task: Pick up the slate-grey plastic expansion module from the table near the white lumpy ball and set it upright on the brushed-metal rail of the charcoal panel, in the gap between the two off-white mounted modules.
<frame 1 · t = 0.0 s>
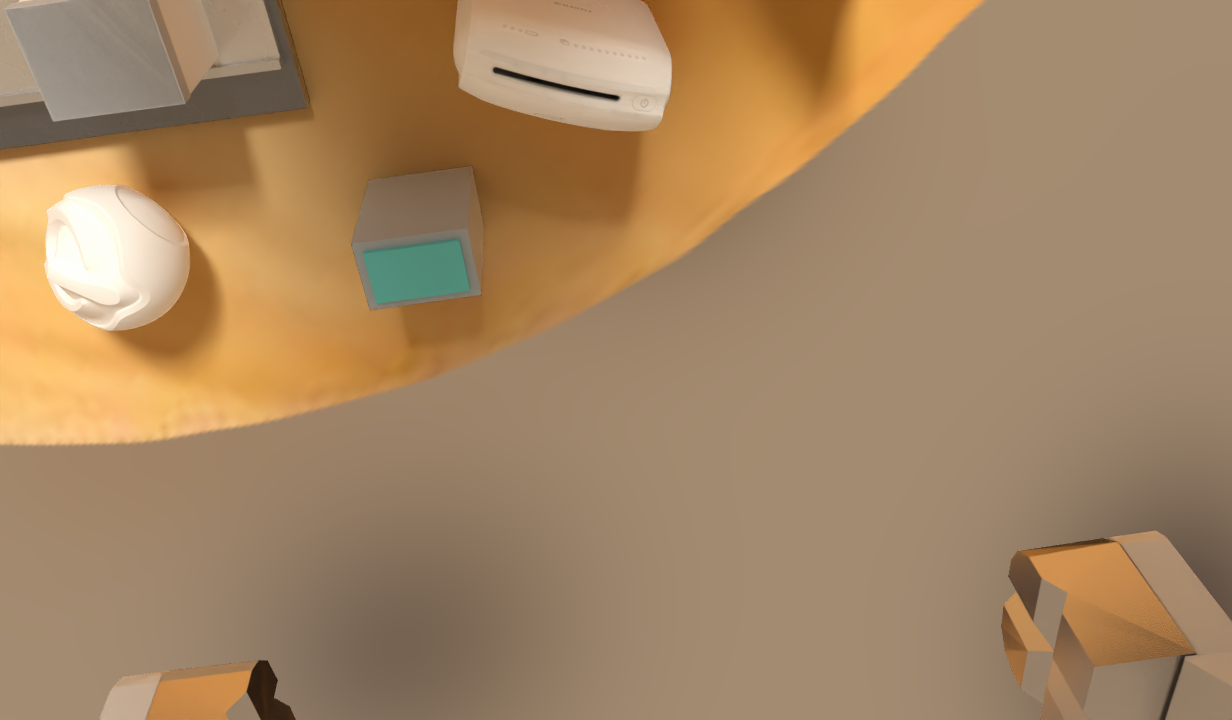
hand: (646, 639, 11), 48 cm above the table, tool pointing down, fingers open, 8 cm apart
white lumpy ball: (137, 224, 59), on the table
expansion module: (427, 204, 60), on the table
mounted modules: (6, 25, 52), resting on rail panel
rail panel: (6, 25, 52), on the table
photo printer: (555, 10, 55), on the table
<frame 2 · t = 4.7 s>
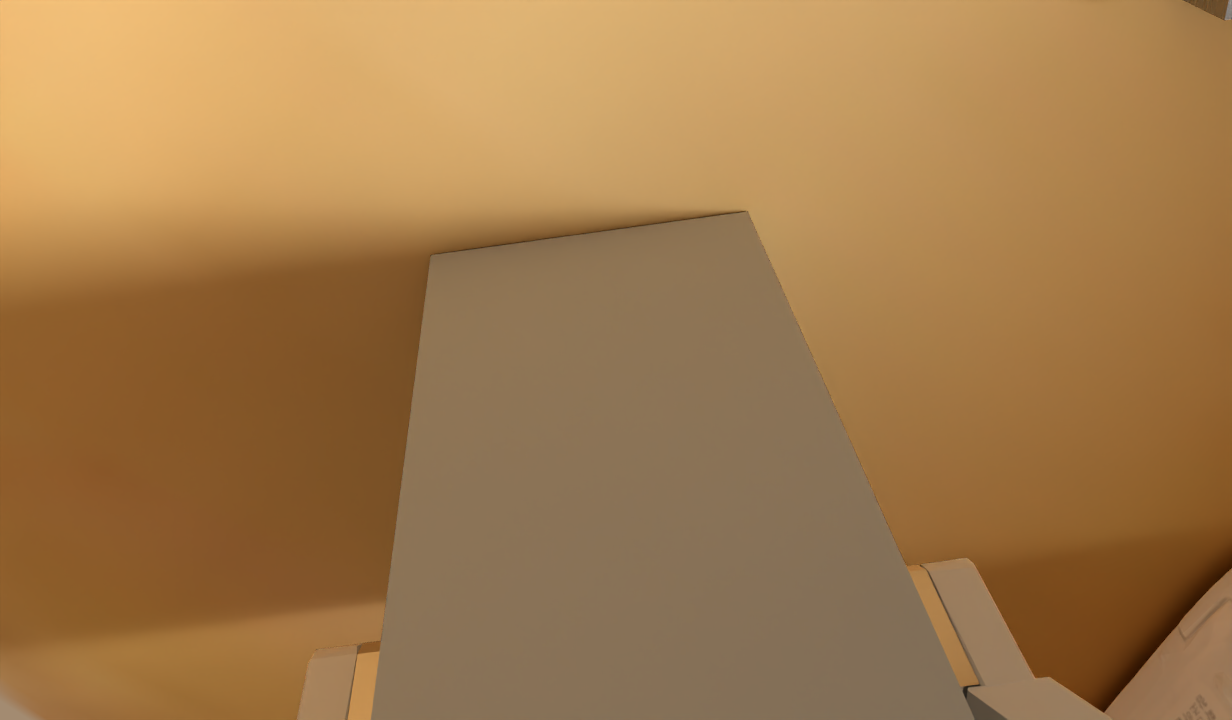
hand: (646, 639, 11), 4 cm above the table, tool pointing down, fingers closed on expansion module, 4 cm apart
expansion module: (615, 421, 14), on the table, touching gripper
photo printer: (1172, 705, 20), on the table
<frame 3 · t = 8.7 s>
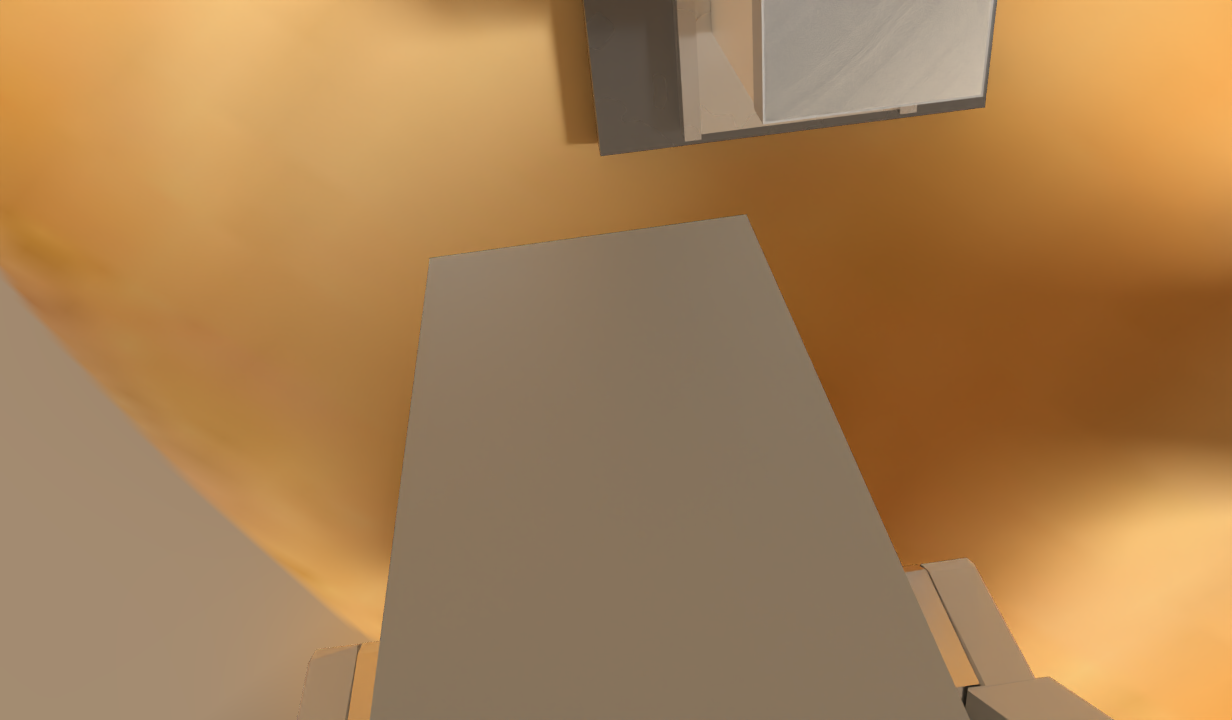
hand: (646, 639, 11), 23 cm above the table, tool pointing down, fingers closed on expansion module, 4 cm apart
expansion module: (614, 423, 14), point 19 cm above the table, touching gripper
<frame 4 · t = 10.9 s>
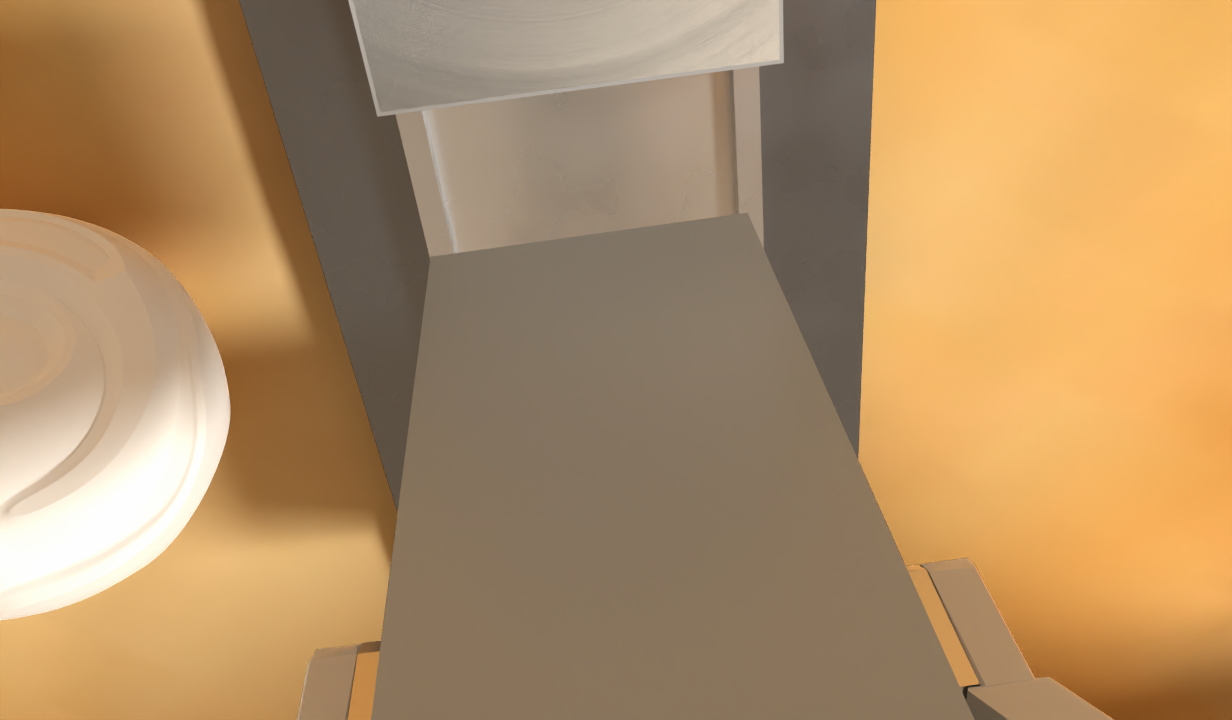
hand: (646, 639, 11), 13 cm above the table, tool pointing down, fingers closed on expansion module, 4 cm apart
white lumpy ball: (86, 307, 24), on the table
expansion module: (615, 422, 14), point 9 cm above the table, touching gripper
mounted modules: (585, 153, 22), resting on rail panel
rail panel: (585, 153, 22), on the table
when the fingers open (6 cm above the table, at t = 12.9 s): expansion module stays where it is, resting on rail panel.
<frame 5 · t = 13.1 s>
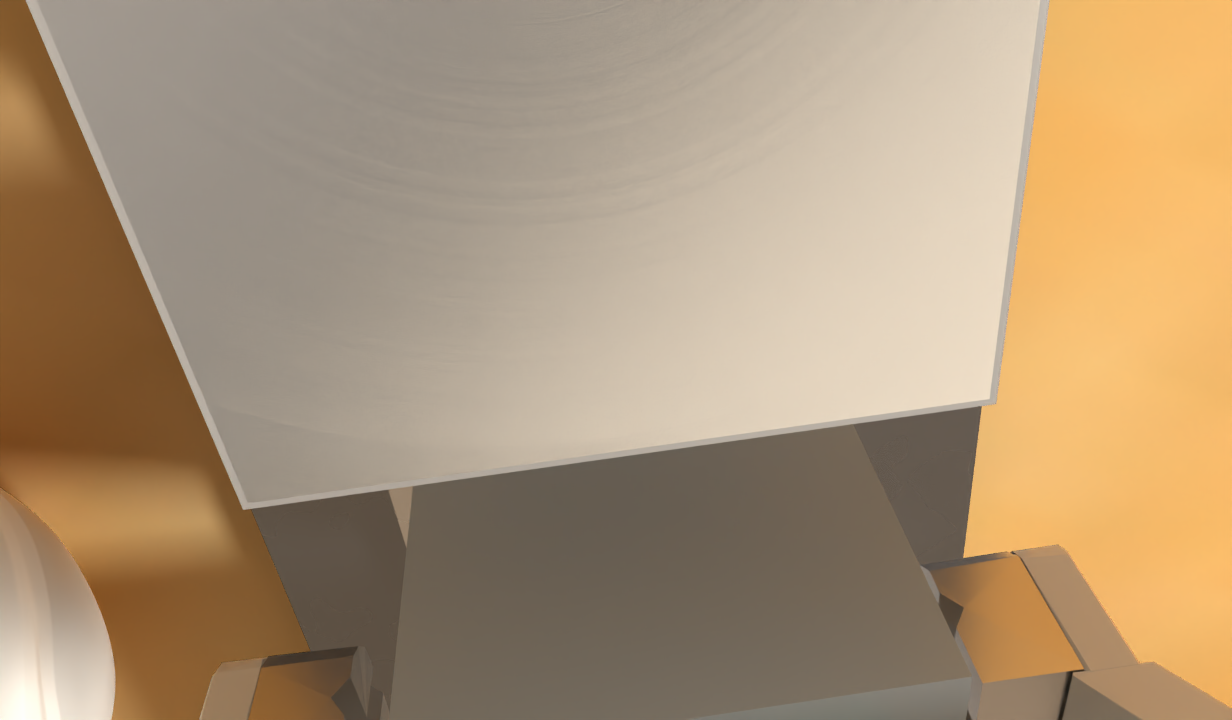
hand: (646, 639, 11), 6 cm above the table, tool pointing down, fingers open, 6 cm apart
expansion module: (614, 387, 15), point 2 cm above the table, touching rail panel
mounted modules: (600, 331, 16), resting on rail panel
rail panel: (600, 331, 16), on the table
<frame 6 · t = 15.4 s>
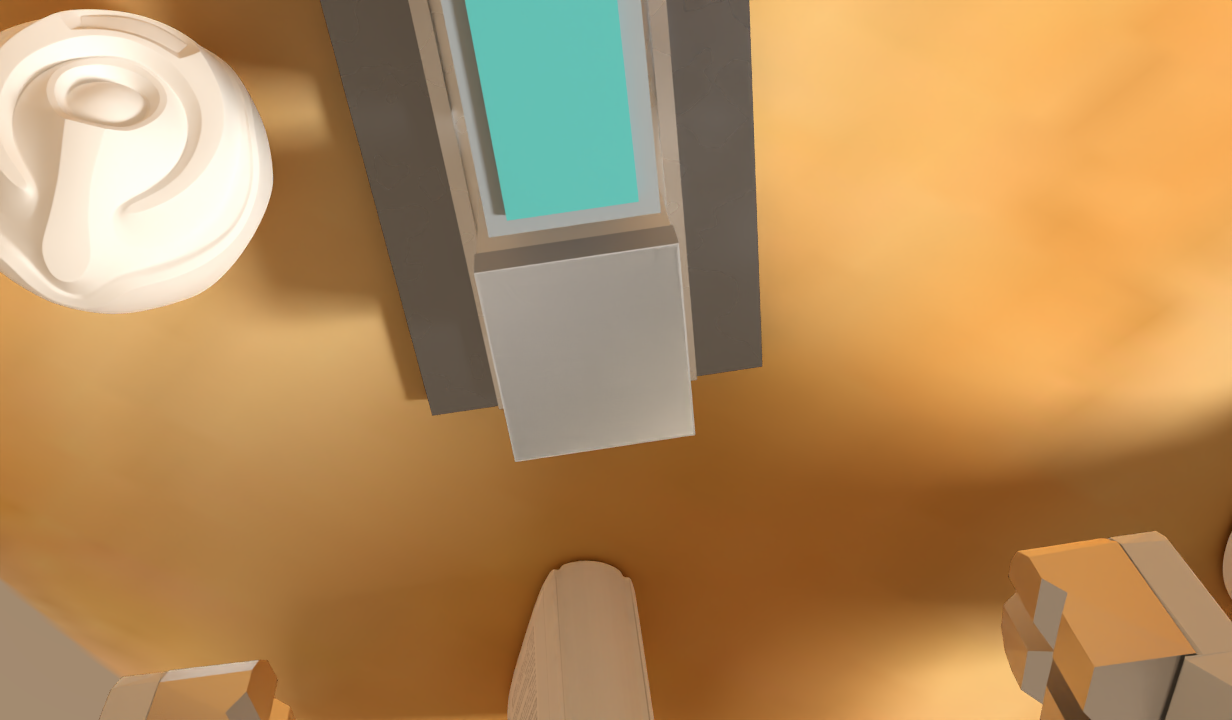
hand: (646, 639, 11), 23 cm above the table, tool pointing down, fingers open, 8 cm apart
white lumpy ball: (157, 113, 31), on the table
expansion module: (542, 0, 28), point 1 cm above the table, touching rail panel
photo printer: (566, 634, 46), on the table
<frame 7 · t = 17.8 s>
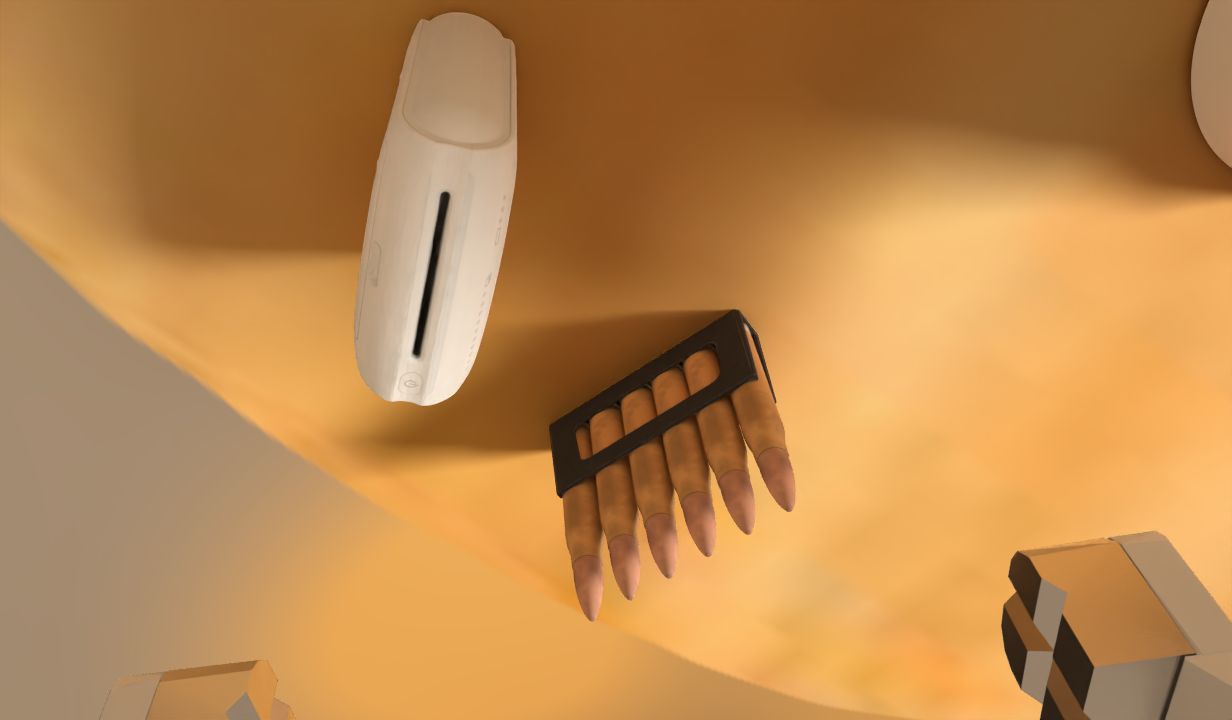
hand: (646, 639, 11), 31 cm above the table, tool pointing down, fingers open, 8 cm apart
ammunition clip: (650, 378, 48), on the table
photo printer: (447, 138, 40), on the table
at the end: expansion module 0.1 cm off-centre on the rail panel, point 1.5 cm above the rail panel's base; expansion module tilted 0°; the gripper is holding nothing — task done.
